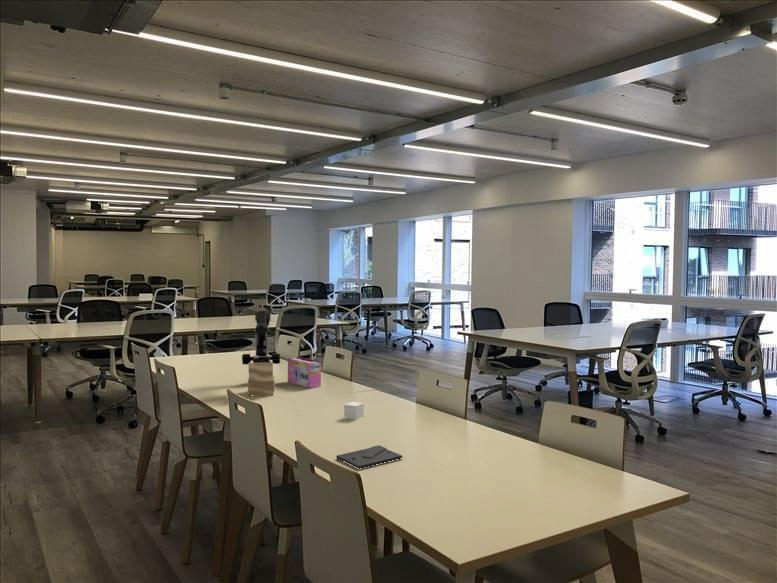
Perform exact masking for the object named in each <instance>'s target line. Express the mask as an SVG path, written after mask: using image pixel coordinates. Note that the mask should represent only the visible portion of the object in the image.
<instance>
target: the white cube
mask: <svg viewBox="0 0 777 583" xmlns="http://www.w3.org/2000/svg"><path fill="white" fill-rule="evenodd" d="M364 405H365V404H364V402H357V401H350V402H347V403H345V404H344V405H343V409H344V410H343V411H344V412H343V413H344V415H343V416H344V417H346V418H345V419H347V418H351V419H350V420H353V419H357V420H359V419H361V418H360V417H362V418H364ZM358 418H359V419H358Z"/></svg>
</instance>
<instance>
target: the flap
mask: <svg viewBox="0 0 777 583" xmlns="http://www.w3.org/2000/svg"><path fill="white" fill-rule="evenodd" d="M247 365H248V379H249V382H261V381H273V376H274V369H273V368H274V367H273V366H274V364H273V362H272V361H271V363H253V362H250V363H248V364H247Z"/></svg>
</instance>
